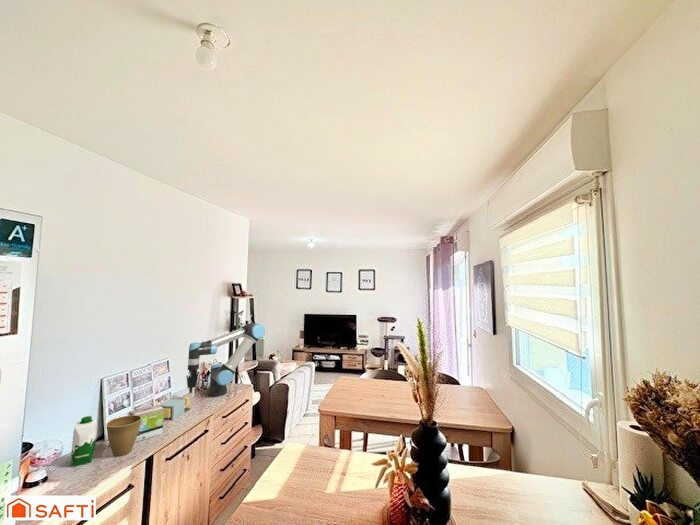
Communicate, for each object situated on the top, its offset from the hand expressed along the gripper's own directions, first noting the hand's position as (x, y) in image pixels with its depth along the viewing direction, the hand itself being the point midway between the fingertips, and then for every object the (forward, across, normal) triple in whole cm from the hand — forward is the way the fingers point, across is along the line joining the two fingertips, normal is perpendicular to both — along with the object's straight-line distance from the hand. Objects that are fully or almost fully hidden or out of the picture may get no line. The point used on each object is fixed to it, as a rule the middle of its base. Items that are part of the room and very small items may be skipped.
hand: (191, 396), depth 229 cm
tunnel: (+5, +21, 0) cm, 22 cm away
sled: (+5, +17, 0) cm, 18 cm away
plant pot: (+6, +69, +5) cm, 69 cm away
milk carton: (+6, +78, -8) cm, 79 cm away
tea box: (+6, +50, +3) cm, 51 cm away
